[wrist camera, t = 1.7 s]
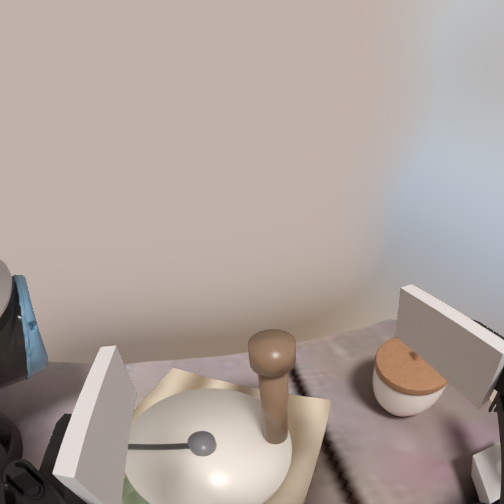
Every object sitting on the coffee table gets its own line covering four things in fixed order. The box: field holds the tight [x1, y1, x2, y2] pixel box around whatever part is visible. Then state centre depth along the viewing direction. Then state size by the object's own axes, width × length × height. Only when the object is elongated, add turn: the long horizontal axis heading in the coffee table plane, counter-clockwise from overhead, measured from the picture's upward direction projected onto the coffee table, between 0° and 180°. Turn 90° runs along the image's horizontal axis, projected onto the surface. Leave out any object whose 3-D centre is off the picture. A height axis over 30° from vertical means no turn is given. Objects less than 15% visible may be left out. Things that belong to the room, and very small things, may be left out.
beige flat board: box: [122, 368, 332, 504], centre depth 25 cm, size 24×25×2 cm
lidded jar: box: [373, 337, 448, 417], centre depth 29 cm, size 11×11×9 cm
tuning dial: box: [125, 329, 296, 504], centre depth 23 cm, size 21×19×15 cm
